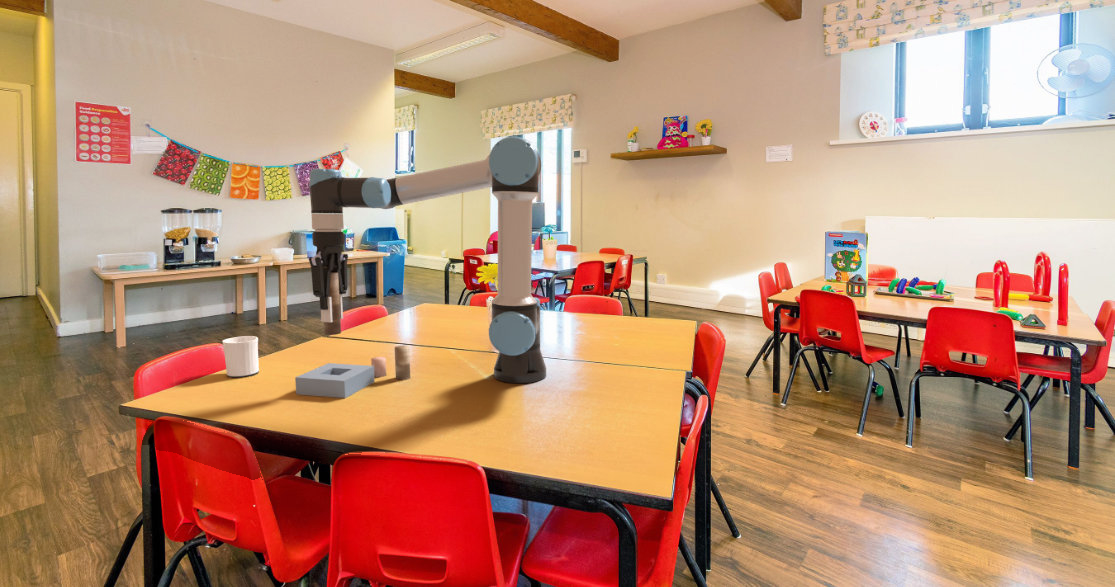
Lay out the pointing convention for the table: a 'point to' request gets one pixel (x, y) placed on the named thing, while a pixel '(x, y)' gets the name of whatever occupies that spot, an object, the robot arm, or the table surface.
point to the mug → (241, 356)
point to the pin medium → (402, 362)
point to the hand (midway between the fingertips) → (332, 319)
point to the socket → (335, 380)
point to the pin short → (379, 366)
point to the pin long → (334, 307)
